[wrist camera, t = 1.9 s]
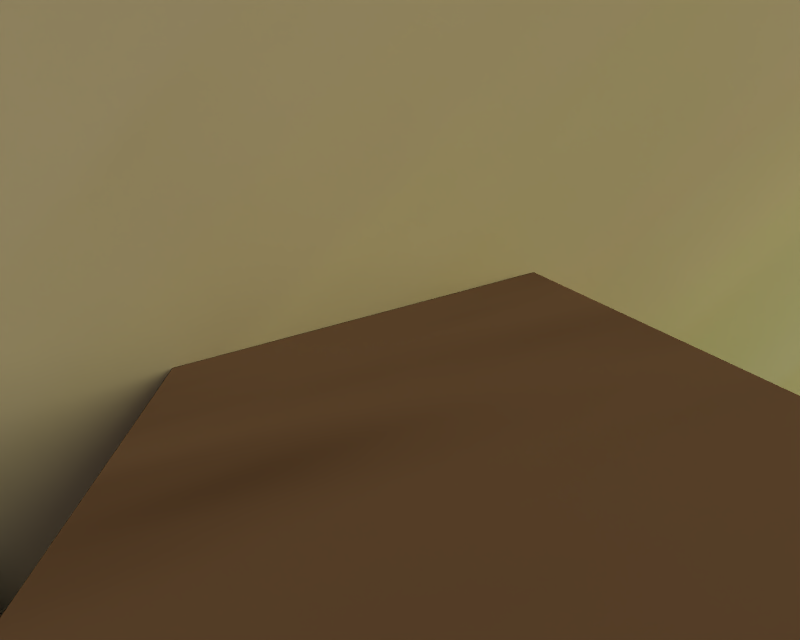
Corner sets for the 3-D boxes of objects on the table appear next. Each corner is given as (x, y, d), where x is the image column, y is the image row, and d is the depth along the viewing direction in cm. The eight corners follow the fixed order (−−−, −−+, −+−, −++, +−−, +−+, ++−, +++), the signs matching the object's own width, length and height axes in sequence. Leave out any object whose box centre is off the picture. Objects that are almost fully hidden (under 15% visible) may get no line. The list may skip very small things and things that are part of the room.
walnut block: (554, 525, 10) (852, 962, 5) (289, 616, 9) (258, 1272, 4) (533, 272, 8) (1129, 549, 2) (172, 368, 7) (-400, 1194, 1)
